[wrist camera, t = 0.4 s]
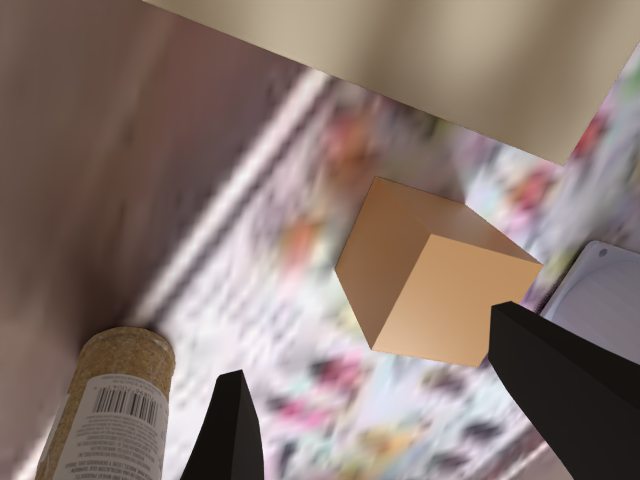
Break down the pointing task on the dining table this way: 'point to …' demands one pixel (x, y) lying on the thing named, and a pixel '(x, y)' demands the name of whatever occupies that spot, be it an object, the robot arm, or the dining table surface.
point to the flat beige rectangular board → (454, 55)
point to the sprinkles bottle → (113, 410)
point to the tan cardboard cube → (429, 274)
